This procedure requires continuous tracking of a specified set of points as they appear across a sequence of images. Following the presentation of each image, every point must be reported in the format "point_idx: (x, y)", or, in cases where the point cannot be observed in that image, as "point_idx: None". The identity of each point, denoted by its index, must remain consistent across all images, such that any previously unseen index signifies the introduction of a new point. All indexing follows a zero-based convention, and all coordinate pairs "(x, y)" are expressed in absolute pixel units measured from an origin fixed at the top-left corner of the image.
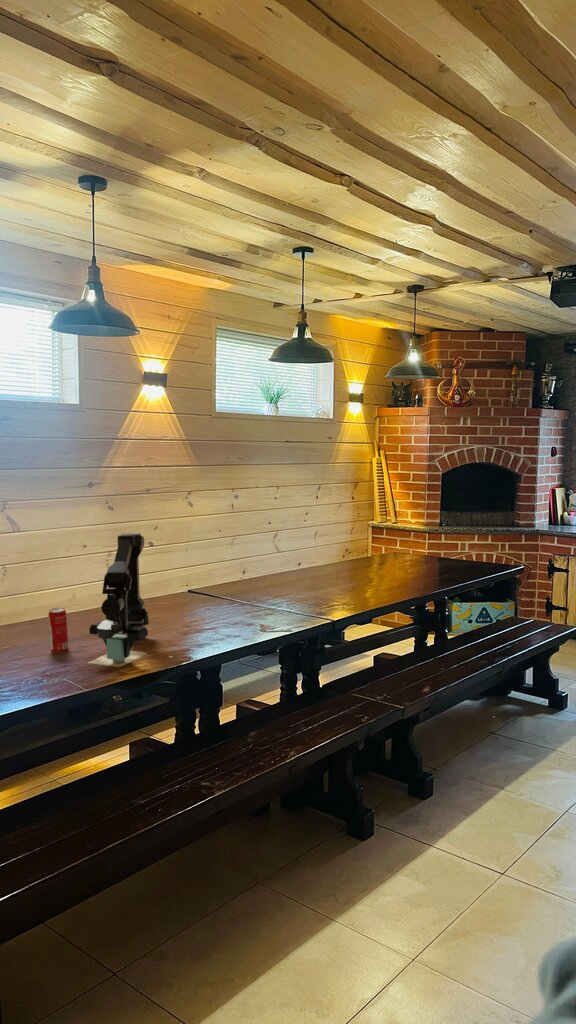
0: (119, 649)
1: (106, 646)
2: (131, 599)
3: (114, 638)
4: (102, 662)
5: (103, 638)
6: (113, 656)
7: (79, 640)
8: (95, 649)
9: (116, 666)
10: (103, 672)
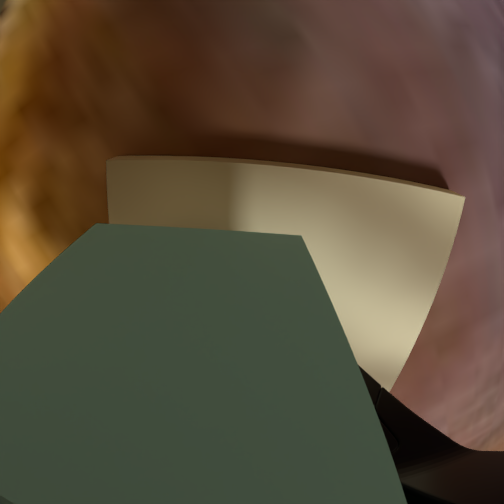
0: (31, 298)
1: (379, 384)
2: None
3: None
4: (355, 236)
5: (491, 476)
6: (190, 243)
7: (492, 428)
8: (449, 414)
9: (144, 168)
10: (230, 48)
